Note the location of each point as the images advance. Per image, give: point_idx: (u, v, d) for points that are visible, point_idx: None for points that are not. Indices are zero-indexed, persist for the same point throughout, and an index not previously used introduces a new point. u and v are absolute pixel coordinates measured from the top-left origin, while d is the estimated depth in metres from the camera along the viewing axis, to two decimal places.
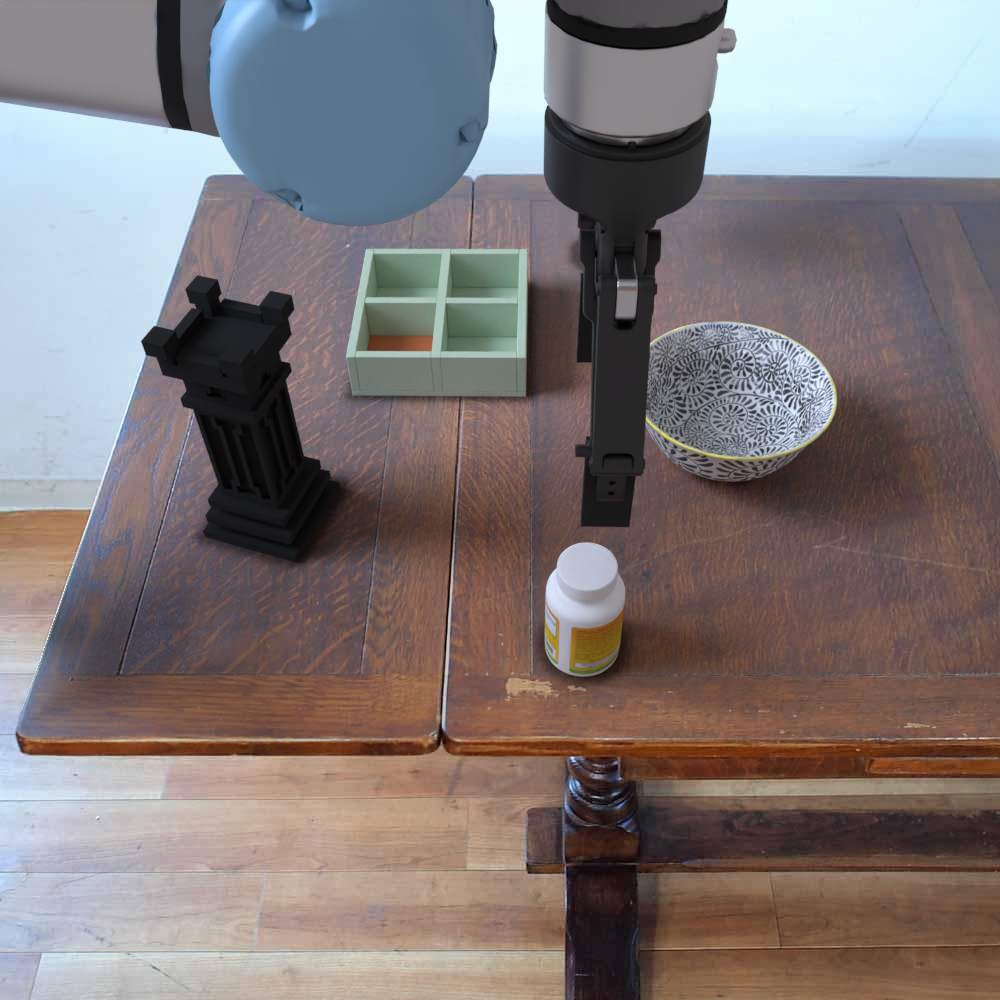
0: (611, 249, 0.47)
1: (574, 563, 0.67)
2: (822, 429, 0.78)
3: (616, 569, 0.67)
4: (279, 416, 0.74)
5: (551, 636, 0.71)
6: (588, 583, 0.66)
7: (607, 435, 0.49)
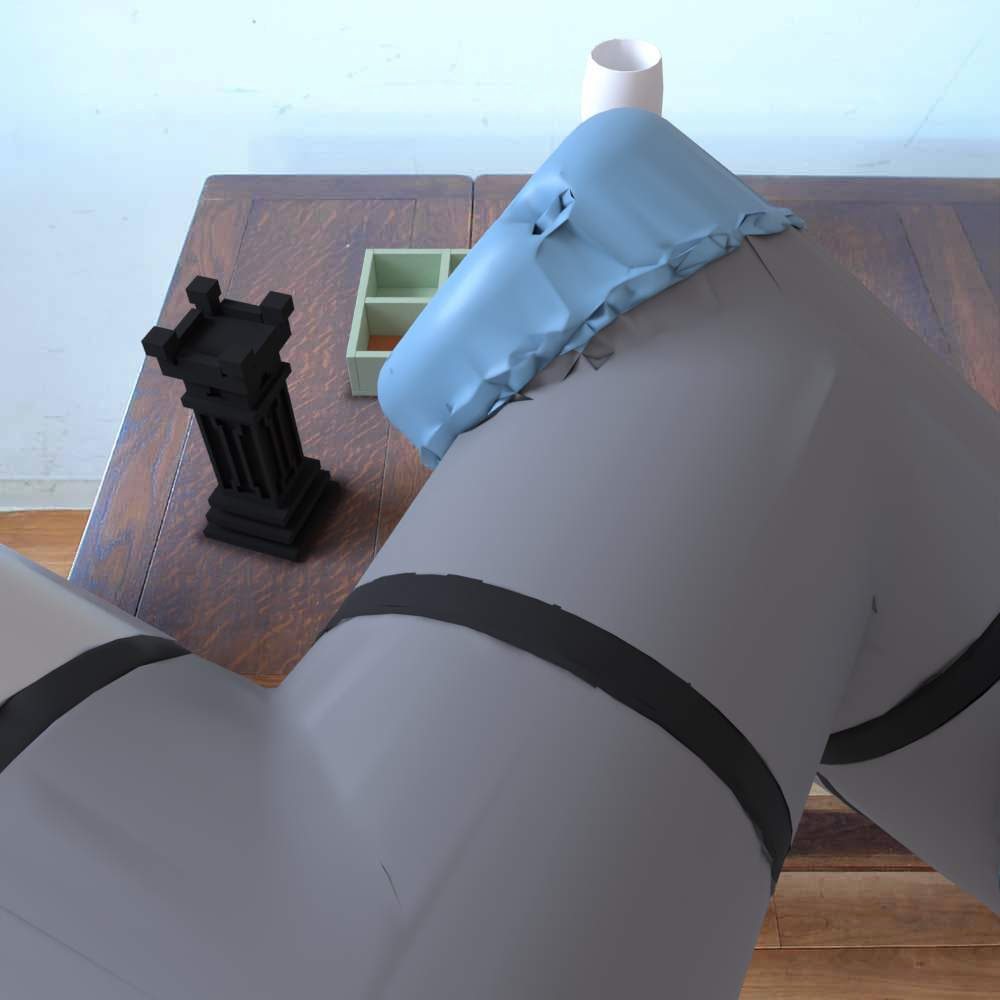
0: None
1: None
2: None
3: None
4: (279, 416, 0.74)
5: None
6: None
7: None
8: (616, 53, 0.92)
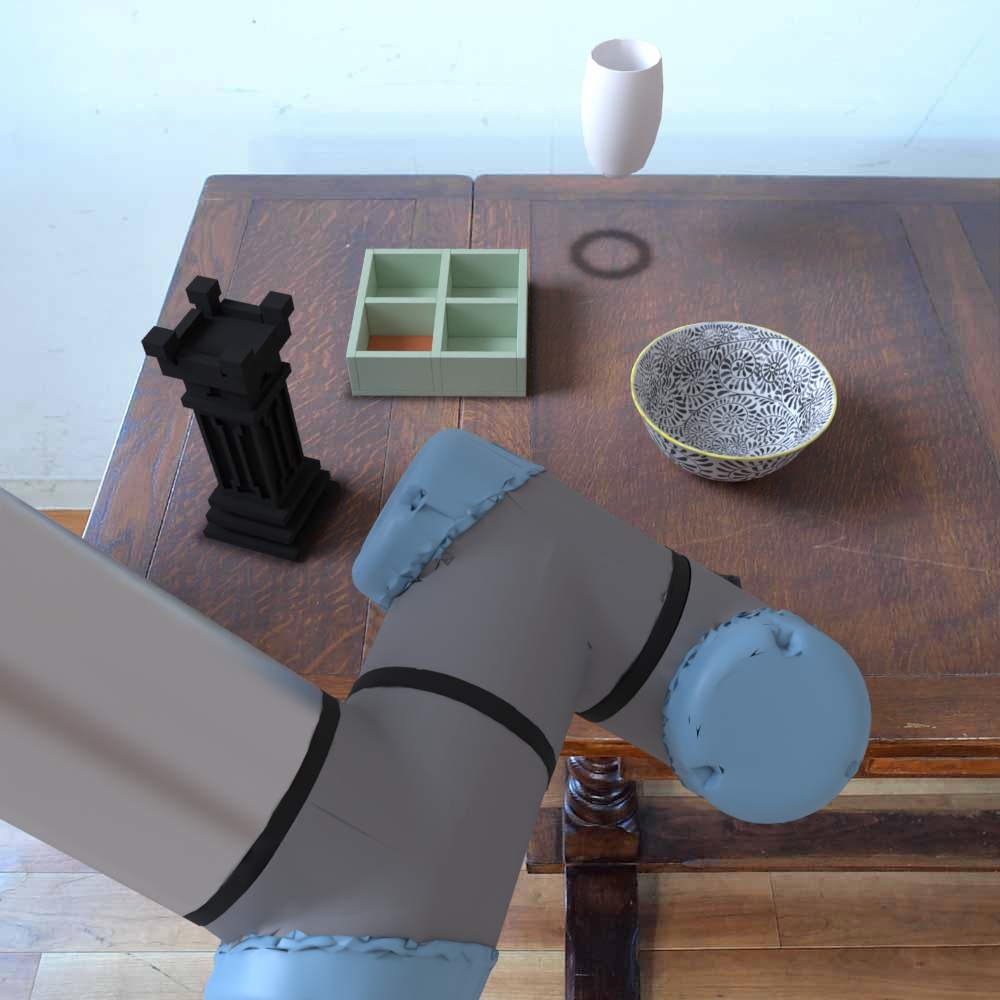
0: None
1: None
2: (822, 429, 0.78)
3: None
4: (279, 416, 0.74)
5: None
6: None
7: None
8: (616, 53, 0.92)
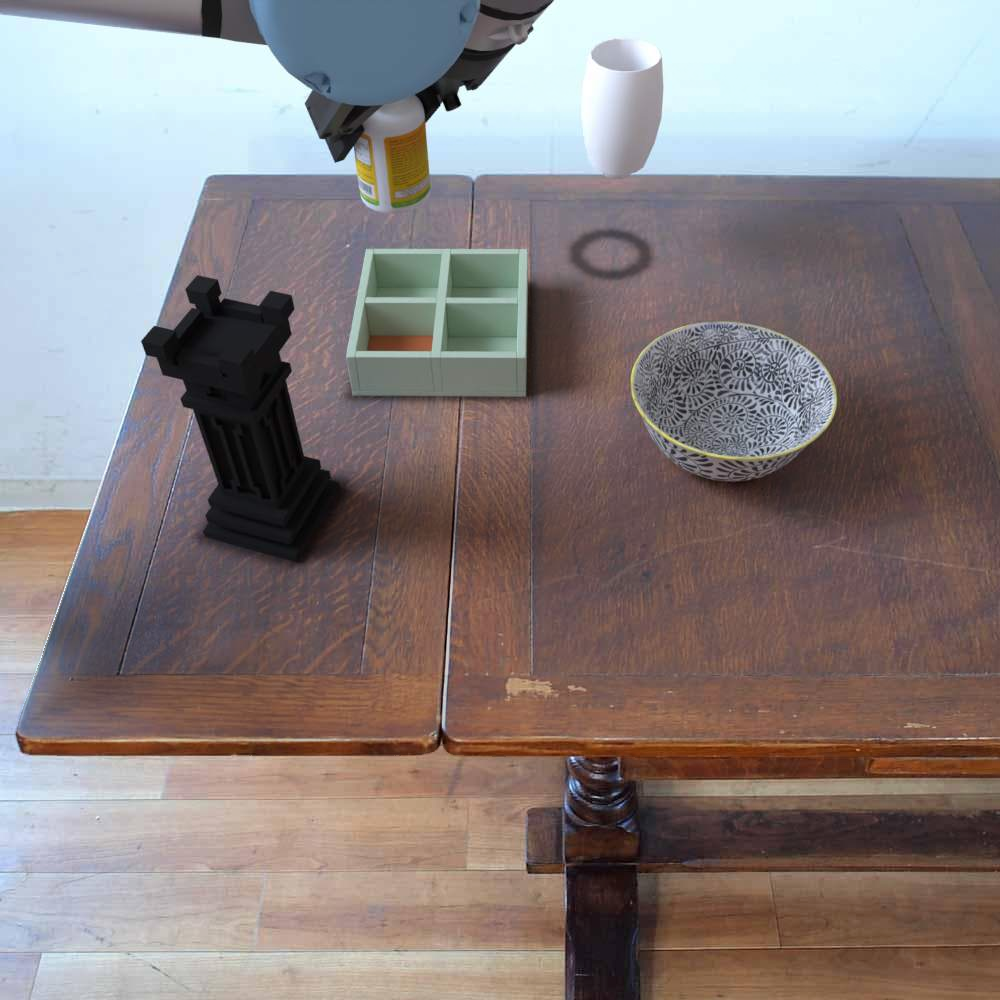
0: None
1: None
2: (822, 429, 0.78)
3: None
4: (279, 416, 0.74)
5: (366, 170, 0.75)
6: None
7: (314, 102, 0.67)
8: (616, 53, 0.92)
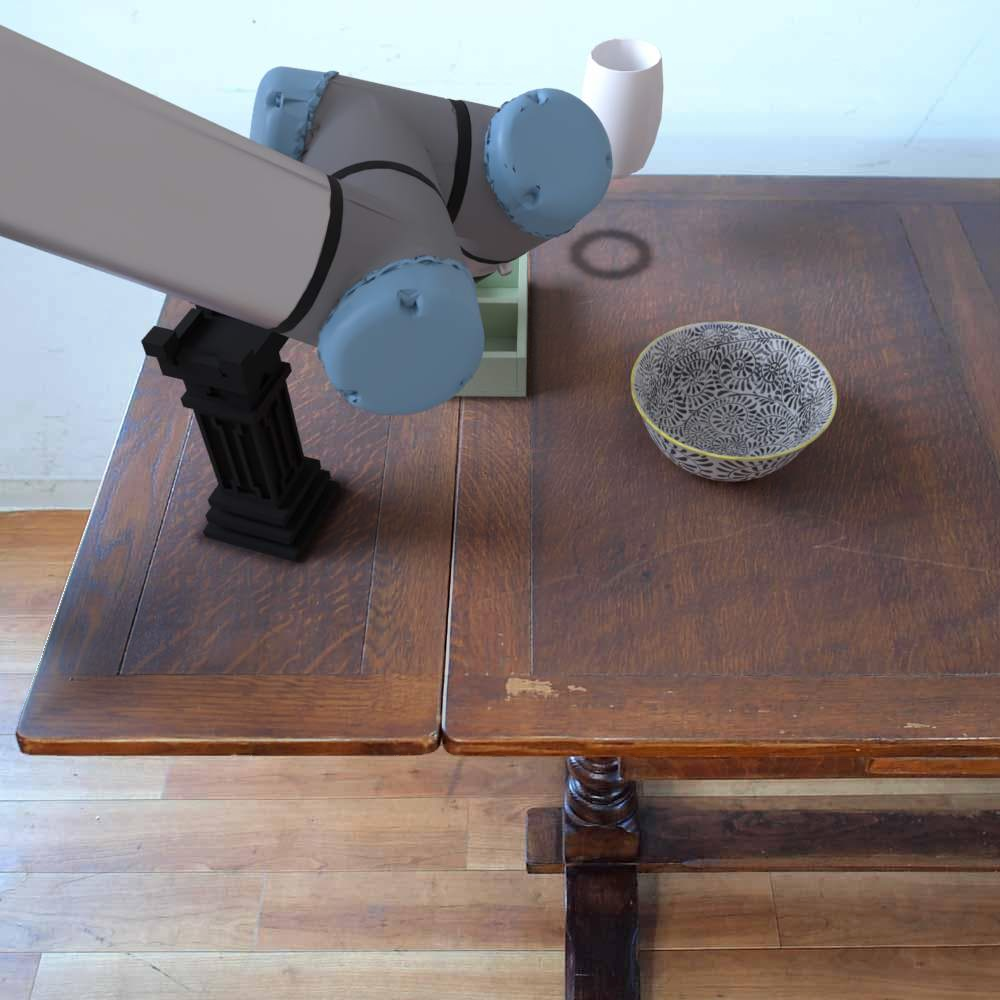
0: None
1: None
2: (822, 429, 0.78)
3: None
4: (279, 416, 0.74)
5: None
6: None
7: None
8: (616, 53, 0.92)
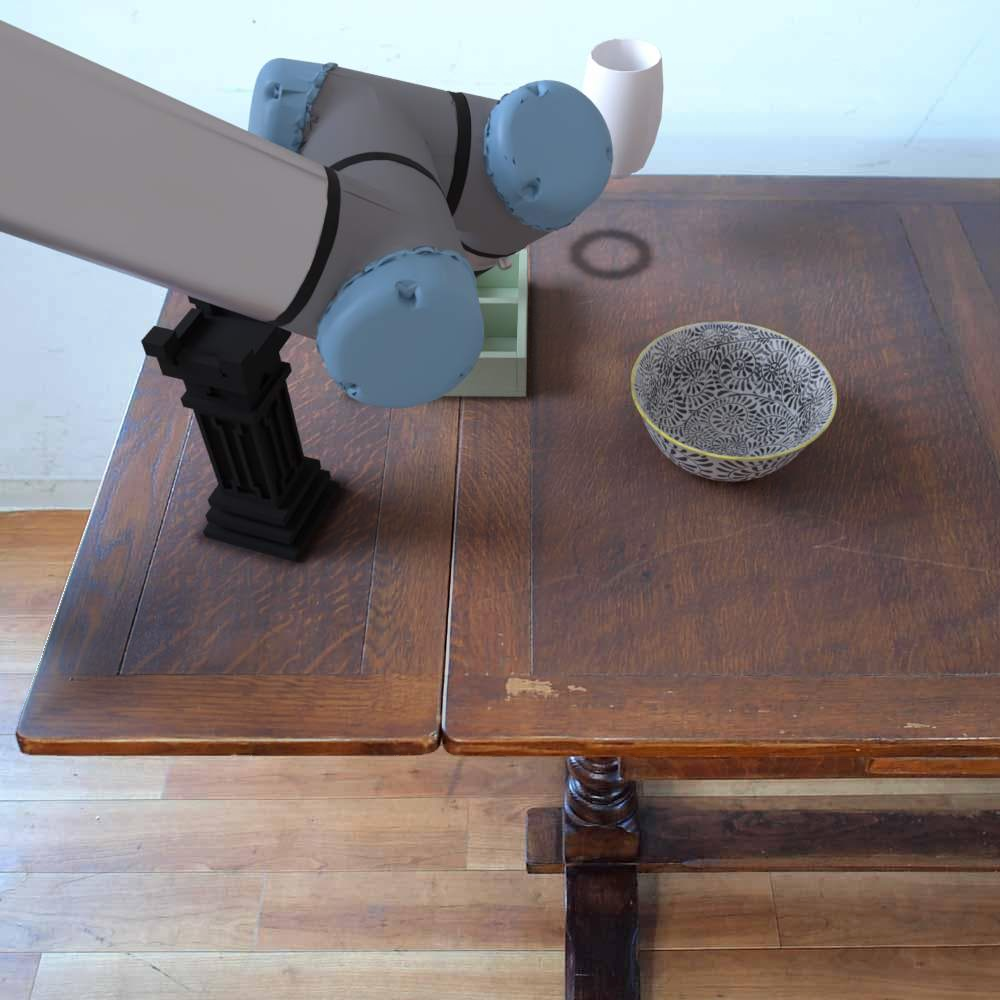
0: None
1: None
2: (822, 429, 0.78)
3: None
4: (279, 416, 0.74)
5: None
6: None
7: None
8: (616, 53, 0.92)
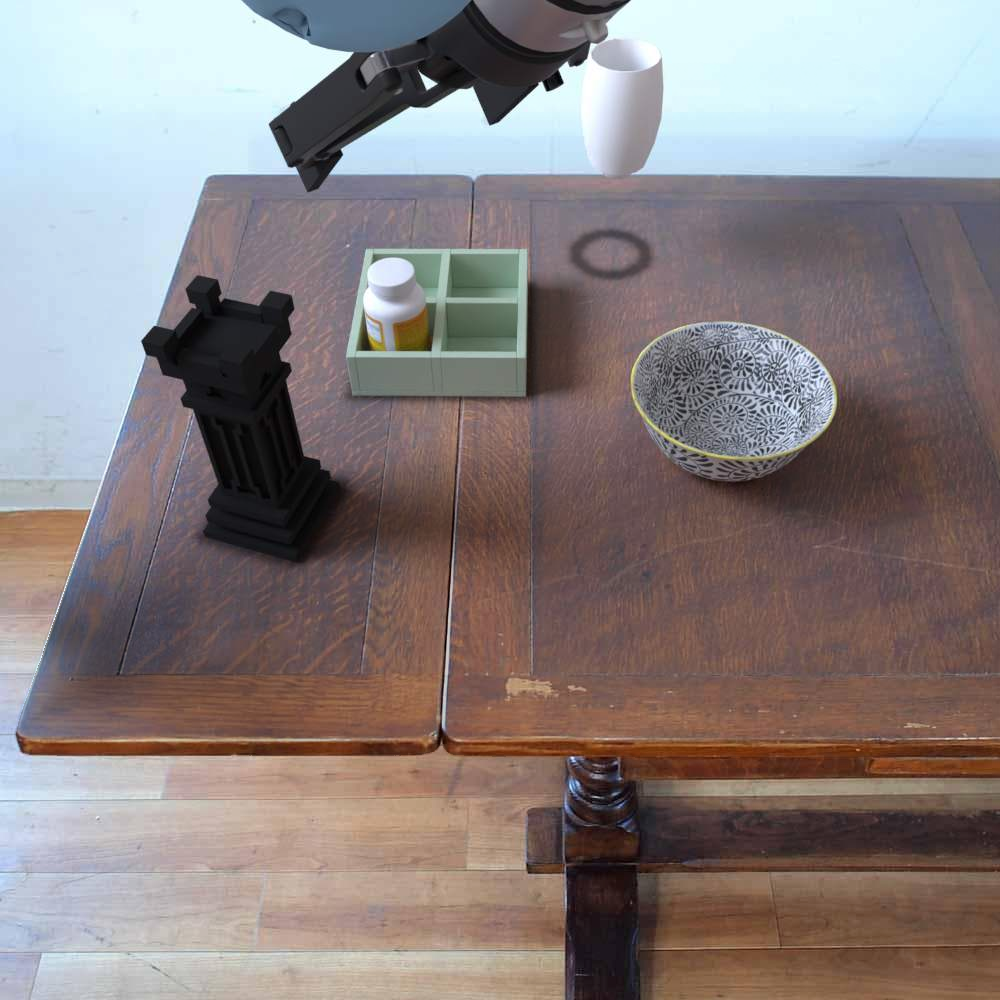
0: None
1: (380, 272, 0.86)
2: (822, 429, 0.78)
3: (413, 268, 0.86)
4: (279, 416, 0.74)
5: (378, 345, 0.90)
6: (395, 281, 0.85)
7: (293, 118, 0.54)
8: (616, 53, 0.92)
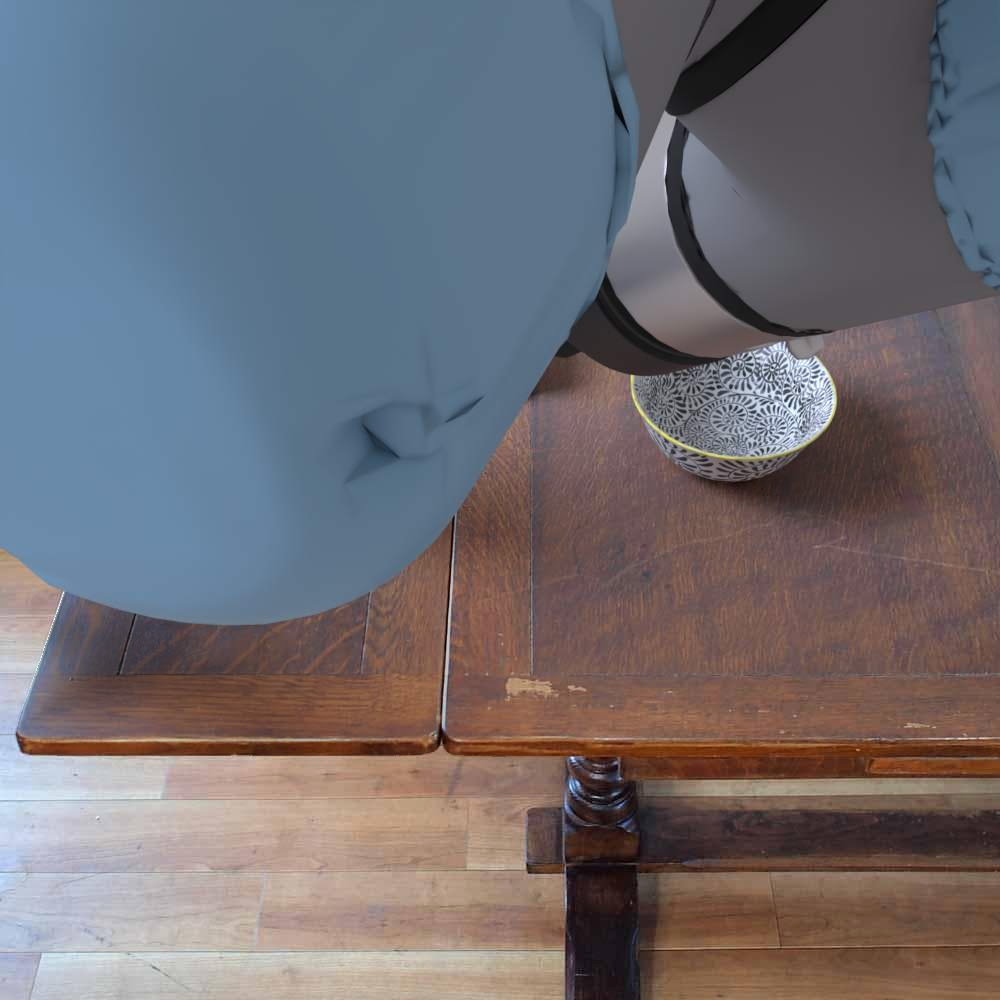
0: None
1: None
2: (822, 429, 0.78)
3: None
4: None
5: None
6: None
7: None
8: None
